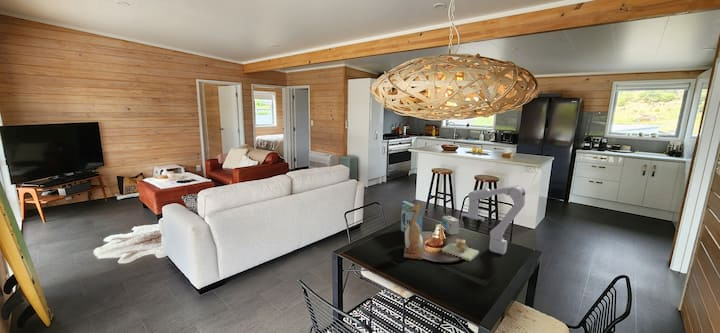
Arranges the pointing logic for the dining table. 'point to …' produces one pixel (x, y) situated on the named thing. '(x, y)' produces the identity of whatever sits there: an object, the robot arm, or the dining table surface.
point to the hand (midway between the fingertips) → (471, 229)
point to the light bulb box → (450, 224)
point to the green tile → (466, 255)
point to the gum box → (410, 216)
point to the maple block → (460, 245)
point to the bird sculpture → (414, 236)
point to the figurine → (408, 239)
